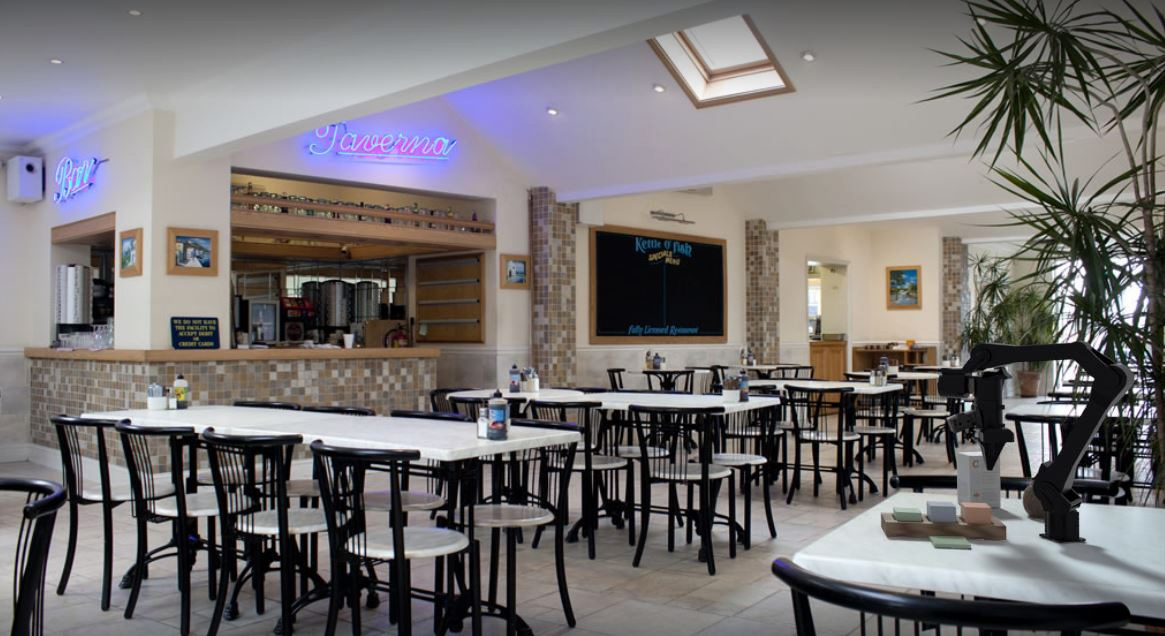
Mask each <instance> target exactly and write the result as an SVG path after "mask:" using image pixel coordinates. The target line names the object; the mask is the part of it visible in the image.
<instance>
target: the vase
mask: <svg viewBox="0 0 1165 636" xmlns="http://www.w3.org/2000/svg"><path fill="white" fill-rule="evenodd" d="M1034 481H1035V480H1032V479H1031V481H1030V483H1029V484H1028V485H1027V486H1026V488H1025V489H1024V492H1023V495H1022V506H1023V509H1024V511H1025V512H1026V513H1027V515H1029V517H1033V518H1041V519H1045V511H1044V509H1043V507H1042V504H1041V501H1040V500H1039V499H1037V497H1036V496H1035V495H1034V492H1033V490H1032V486H1033V483H1034Z"/></svg>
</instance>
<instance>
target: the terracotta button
mask: <svg viewBox="0 0 1165 636" xmlns="http://www.w3.org/2000/svg"><path fill="white" fill-rule="evenodd" d="M960 515H961V520H962V522H963V523H981V524H991V516H992V508H991V507H990V506H989V505H988V504H986V503H967V502H961V505H960Z"/></svg>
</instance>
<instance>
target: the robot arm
mask: <svg viewBox="0 0 1165 636" xmlns="http://www.w3.org/2000/svg"><path fill="white" fill-rule="evenodd" d="M1071 360H1072V361H1074V362H1075V363H1077V365H1078V366H1079V367H1080V368H1081V369H1082V370H1083V371H1084V372H1086V374H1087V375H1089V376H1090V377H1091V378H1093V382H1092V384H1091V387H1090V392H1089V397H1088V401H1087V403H1086V405H1085V407H1084V408H1083V410H1082V412H1081V414H1080V415H1079V417H1078V418H1077V419H1078V420H1077V421H1076V422H1075V424H1074V426H1073V428H1072V429H1071V431H1070V433H1069V434H1068V437H1067V438H1066V440H1065V441H1064V444H1063V446H1062V447H1061V448H1060V450H1059V452H1058V454H1057V456H1056V458H1054V460H1050V459H1049V460H1047V461H1044V462H1042V463H1040V465H1039V467H1038V470H1037V472H1036V475H1034V476H1033V477H1032V478H1031V481H1032V480H1035V481H1034V483H1033V486H1032V490H1033V492H1034V495H1035V496H1036V497H1037V499H1039V500H1040V501H1041V504H1042V507H1043V509H1044V511H1045V518H1044V533H1039V534H1038V536H1039V537H1041V538H1043V539H1047V540H1049V541H1053V542H1056V543H1061V544H1063V543H1079V542H1087V538H1085V537H1082V536H1080V511H1078V510H1077V509H1080V508H1081V505H1082V502H1083V498H1082V497H1081V496H1080V495H1079V493H1077V491H1075V490H1074V489H1073V488H1072V487H1073V484H1074V481H1075V478H1076V472H1077V467H1078V464H1080V461H1081V460H1082V458H1083V456H1084V455H1085V453H1086V451H1087V449H1088V447H1089V445H1090V444H1091V443H1092V441H1093V439H1094V438H1095V435H1096V434H1097V432H1098V430H1099V429H1100V427H1101V426H1102V423H1103V422H1104V421H1105V418H1106V417H1107V415H1108V413H1109V412H1110V410H1111V409H1112V408H1113V407H1114V406H1115V405H1116V404H1117V403H1118V402H1119V401H1120V400H1121V399H1122V398H1123V397H1124V396H1125V395H1126V393H1128V391H1129V390H1130V389H1131V388H1132V387H1133V386H1134V382H1135V380H1136V379H1135V375H1134V372H1133V370H1132V369H1131V368H1130V367H1128V366H1127V365H1125V364H1122V363H1117V362H1115V361H1113V360H1112V359H1111V358H1110V357H1108V356H1106V355H1105V354H1103V352H1101V351H1099V350H1097V349H1096V348H1095V347H1094V346H1092V345H1091V344H1090V343H1089V342H1087V341H1085V340H1075V341H1072V342H1062V343H1057V342H1056V343H1040V344H1026V345H1019V344H1011V343H1003V342H1001V343H1000V342H993V341H992V342H980V343H976V344H975V345H974V346H972V348H971V350H970V354H969V358H968V359H967V361H966V362H965V364H964V365H963V366H962V368H952V367H941V368H940V374H939V376H938V379H937V380H938V381H937V383H936V386H937V387H936V389H937V394H938V396H939V397H940V398H946V399H947V398H948V399H949V398H950V399H968V398H970V395H973V396H974V399H973V400H974V401H973V402H972V403H971V404H970V409H969V410H967V411H966V410H965V411H961V412H960V413H955V414H953V415H951V416H948V417H946V421H947V424H948V427H949V429H950V432H951V433H952V432H953V433H954V434H959V433H962V432H963V431H964V430H965V433H966V434H972V433H975V436H971V439H972V440H974V442H976V443H977V445H979V449H980V452H982V455H983V459H984V463H985V466H986V470H988V471H992V470H993V468H994V466H995V464H996V462H997V460H998V457H999V455H1000V456H1001V454H1002V451H1003V449H1004V447H1005V445H1006V444H1007V443H1015V433H1014V432H1013V431H1012V430H1011V429H1010V428H1008V427H1006V423H1004V422H1003V421H1004V417H1003V416H1004V415H1003V414H1004V410H1006V405H1005V404H1004V403H1003V380H1006V381H1007V380H1011V379H1013V375H1012V374H1010V373H1009V372H1008V371H1007V370H1006V369H1005V368H1004V366H1005V367H1006V366H1011V365H1014V364H1018V363H1031V362H1032V363H1033V362H1052V361H1053V362H1054V361H1071ZM1000 367H1003V368H1000ZM995 368H999V369H998V371H990V370H988V369H995ZM986 370H988V371H986ZM982 372H983V373H982ZM976 373H982V374H981V375H973V374H976Z"/></svg>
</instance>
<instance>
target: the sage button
mask: <svg viewBox="0 0 1165 636" xmlns="http://www.w3.org/2000/svg"><path fill="white" fill-rule="evenodd" d="M892 509H893V510H892V511H893V512H892V513H893V518H894V520H899V521H922V514H923V512H922V511H921V510H920V509H919V508H918V507H906V506H905V507H900V506H894V507H892Z"/></svg>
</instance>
